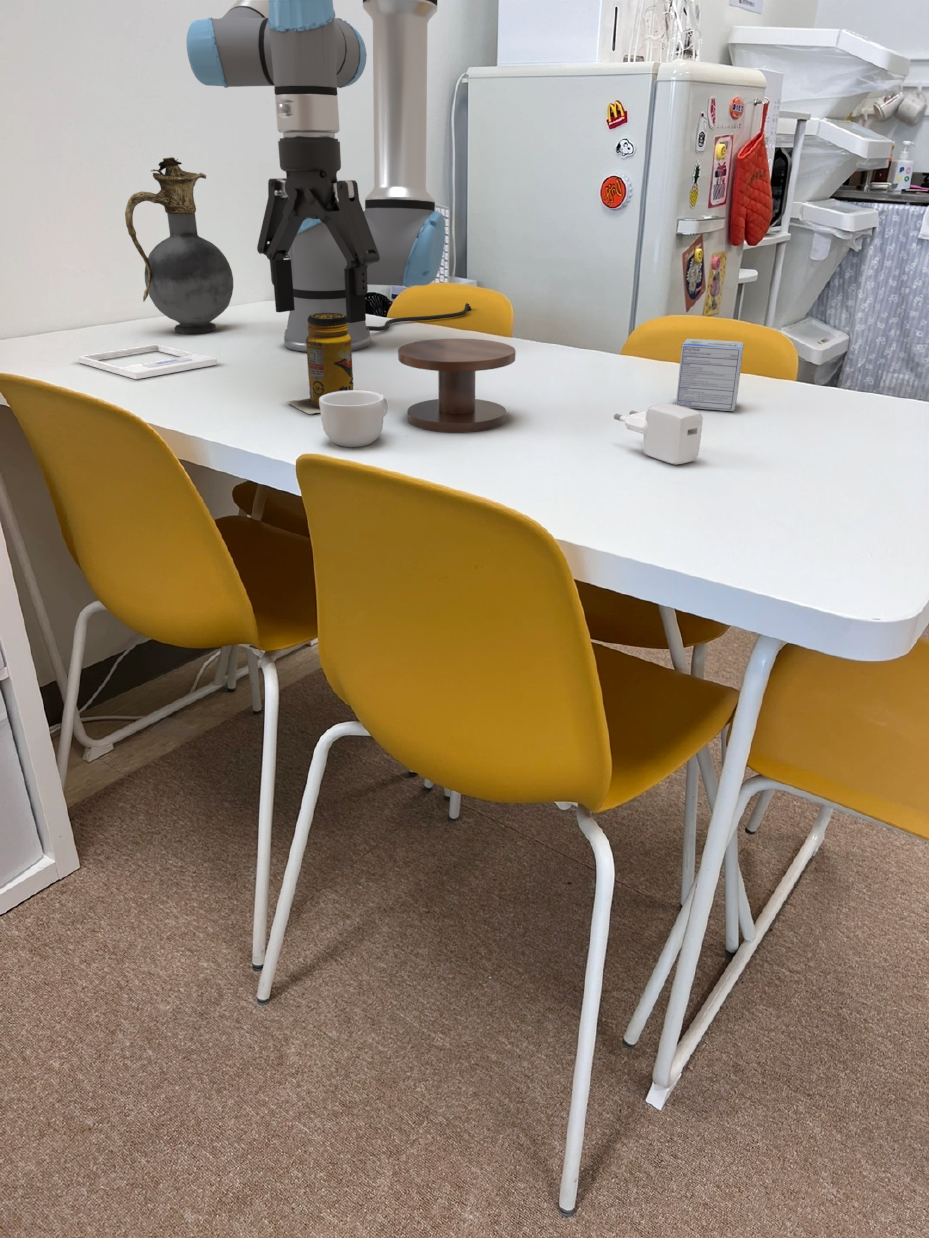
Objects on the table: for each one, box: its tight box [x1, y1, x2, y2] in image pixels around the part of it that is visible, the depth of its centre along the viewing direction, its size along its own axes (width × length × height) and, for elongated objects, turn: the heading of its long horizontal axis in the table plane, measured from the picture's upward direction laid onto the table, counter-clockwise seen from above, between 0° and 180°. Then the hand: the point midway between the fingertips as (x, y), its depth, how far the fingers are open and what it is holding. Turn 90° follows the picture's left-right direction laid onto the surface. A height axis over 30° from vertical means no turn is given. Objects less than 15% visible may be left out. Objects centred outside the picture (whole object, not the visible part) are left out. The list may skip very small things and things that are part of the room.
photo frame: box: [76, 343, 218, 380], centre depth 153 cm, size 15×1×18 cm
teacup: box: [319, 389, 389, 448], centre depth 113 cm, size 10×8×5 cm
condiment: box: [286, 313, 354, 415], centre depth 127 cm, size 7×8×12 cm
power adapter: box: [613, 403, 704, 465], centre depth 109 cm, size 11×5×6 cm, turn 35°
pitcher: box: [124, 156, 234, 335], centre depth 172 cm, size 11×19×30 cm, turn 139°
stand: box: [397, 338, 517, 434], centre depth 122 cm, size 15×15×9 cm
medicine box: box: [675, 338, 745, 412], centre depth 128 cm, size 8×4×9 cm, turn 71°
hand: (319, 316), depth 124 cm, fingers open, 13 cm apart
